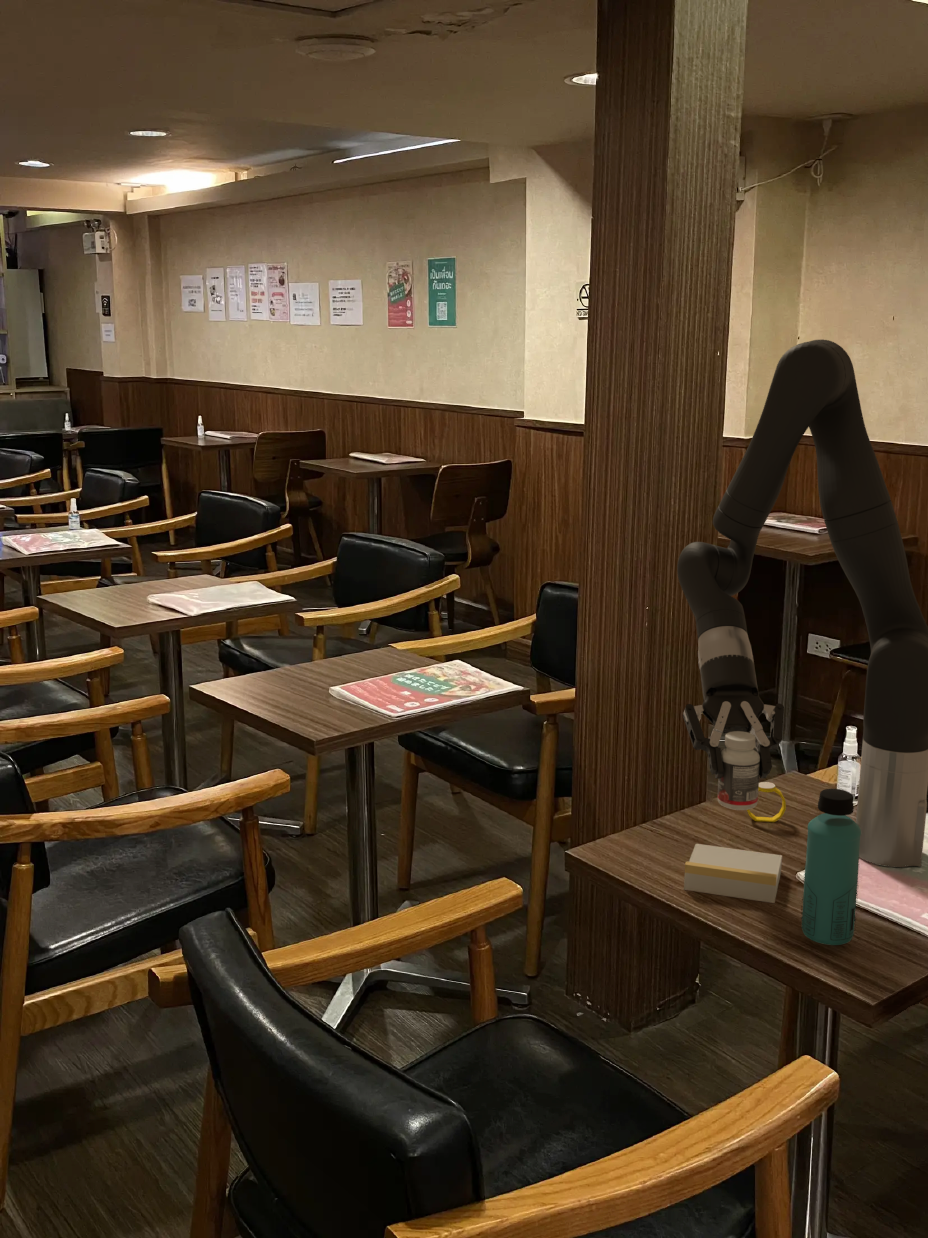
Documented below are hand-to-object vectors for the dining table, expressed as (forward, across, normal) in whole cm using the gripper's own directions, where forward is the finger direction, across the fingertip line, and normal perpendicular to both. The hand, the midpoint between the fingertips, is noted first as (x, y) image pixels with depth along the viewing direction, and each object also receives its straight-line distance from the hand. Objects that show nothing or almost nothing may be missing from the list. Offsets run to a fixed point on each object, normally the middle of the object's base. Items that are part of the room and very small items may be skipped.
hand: (742, 775), depth 160 cm
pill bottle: (+2, 0, +5) cm, 5 cm away
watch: (-4, +9, +27) cm, 29 cm away
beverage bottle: (+23, +7, 0) cm, 24 cm away
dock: (+10, 0, +12) cm, 16 cm away
